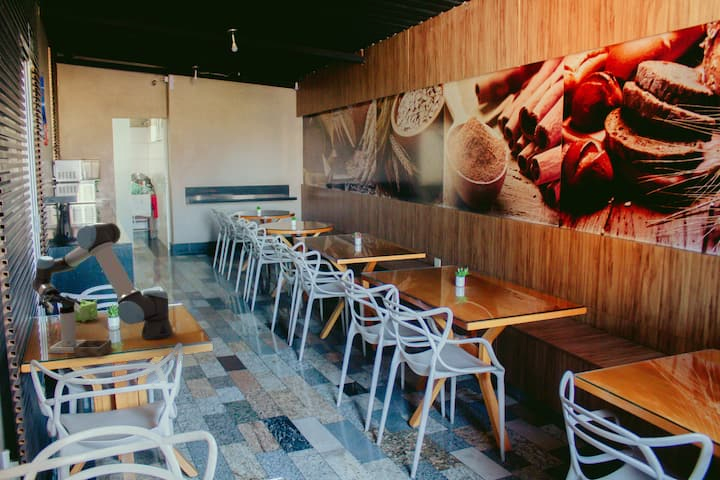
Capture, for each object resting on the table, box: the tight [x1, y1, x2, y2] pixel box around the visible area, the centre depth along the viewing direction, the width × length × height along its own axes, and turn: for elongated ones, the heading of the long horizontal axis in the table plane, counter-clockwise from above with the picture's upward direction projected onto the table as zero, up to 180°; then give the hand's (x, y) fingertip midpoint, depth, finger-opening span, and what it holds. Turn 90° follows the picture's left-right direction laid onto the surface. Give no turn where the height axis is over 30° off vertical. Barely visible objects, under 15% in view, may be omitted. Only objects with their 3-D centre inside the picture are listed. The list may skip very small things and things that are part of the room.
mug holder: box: [73, 339, 113, 358], centre depth 269 cm, size 12×12×4 cm
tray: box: [48, 339, 86, 354], centre depth 274 cm, size 12×12×2 cm
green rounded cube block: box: [74, 299, 99, 323], centre depth 323 cm, size 15×14×11 cm
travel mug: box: [59, 304, 77, 347], centre depth 273 cm, size 6×7×20 cm
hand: (66, 310), depth 282 cm, fingers open, 13 cm apart
